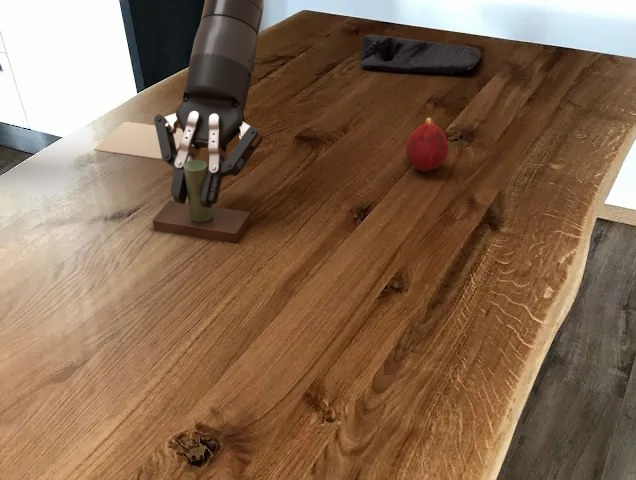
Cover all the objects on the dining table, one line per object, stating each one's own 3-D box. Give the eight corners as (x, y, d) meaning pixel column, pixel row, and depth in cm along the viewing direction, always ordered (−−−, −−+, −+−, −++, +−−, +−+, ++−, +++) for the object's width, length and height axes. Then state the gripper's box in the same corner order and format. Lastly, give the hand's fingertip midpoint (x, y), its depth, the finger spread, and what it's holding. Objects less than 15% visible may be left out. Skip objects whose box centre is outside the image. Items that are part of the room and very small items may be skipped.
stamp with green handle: (155, 239, 91) (143, 168, 85) (172, 218, 95) (161, 149, 89) (237, 252, 89) (231, 181, 83) (251, 231, 93) (246, 161, 86)
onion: (453, 174, 104) (460, 121, 99) (422, 185, 102) (428, 131, 96) (426, 158, 108) (432, 106, 103) (396, 168, 105) (400, 116, 100)
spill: (94, 150, 110) (93, 149, 110) (125, 122, 117) (125, 121, 117) (167, 160, 107) (167, 159, 107) (194, 131, 115) (194, 130, 115)
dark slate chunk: (472, 83, 129) (475, 57, 126) (352, 69, 134) (353, 43, 131) (484, 54, 140) (488, 28, 137) (373, 42, 146) (374, 17, 143)
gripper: (155, 45, 86) (124, 187, 85) (268, 57, 83) (238, 204, 82) (179, 73, 93) (151, 204, 92) (284, 84, 90) (256, 220, 89)
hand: (192, 203), depth 87 cm, fingers closed on stamp with green handle, 3 cm apart
